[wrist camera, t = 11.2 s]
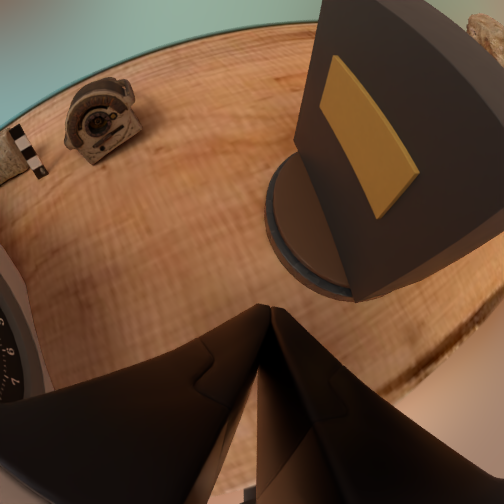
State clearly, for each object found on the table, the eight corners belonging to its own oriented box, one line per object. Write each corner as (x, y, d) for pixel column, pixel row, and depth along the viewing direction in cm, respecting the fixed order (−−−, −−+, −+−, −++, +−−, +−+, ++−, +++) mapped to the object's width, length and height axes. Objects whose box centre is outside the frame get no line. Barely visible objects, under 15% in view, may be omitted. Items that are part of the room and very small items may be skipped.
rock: (514, 102, 37) (542, 61, 23) (488, 97, 35) (521, 46, 21) (468, 52, 43) (488, 13, 29) (433, 43, 40) (455, -6, 26)
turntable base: (441, 256, 22) (450, 250, 21) (317, 335, 20) (323, 333, 19) (362, 139, 27) (366, 130, 25) (235, 181, 24) (235, 171, 23)
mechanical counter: (26, 150, 19) (106, 106, 18) (61, 64, 22) (133, 26, 21) (71, 180, 26) (148, 152, 24) (91, 97, 29) (159, 68, 28)
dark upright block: (304, 319, 19) (471, 191, 4) (252, 150, 23) (262, -34, 9) (446, 271, 20) (589, 172, 5) (381, 137, 25) (446, 5, 10)
